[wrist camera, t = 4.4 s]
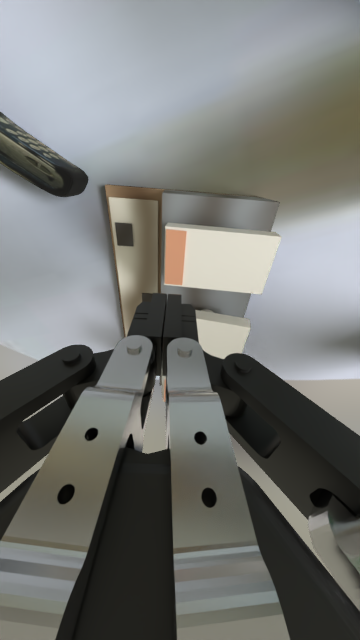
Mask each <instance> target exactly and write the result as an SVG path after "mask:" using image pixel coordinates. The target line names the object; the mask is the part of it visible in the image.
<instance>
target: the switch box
mask: <svg viewBox="0 0 360 640" xmlns="http://www.w3.org/2000/svg"><path fill="white" fill-rule="evenodd" d="M105 190H106V197H107V205H108V213H109V221H110V229H111V236H112V244H113V252H114V260H115V268H116V275H117V283H118V291H119V299H120V306H121V314H122V322H123V330H124V338H125V337H127V334H128V331H129V328H130V325H131V322H132V319H133V316H134V314H135V311H136V308H137V306H138V305H139V304H140V303H142V302H143V301H144V302H151V300H152V295H153V293H165V294H167V298H168V294H181V296H182V304H191V305H192V306H193V307H194V309H195V310H200V311H201V310H203V309H208V310H211V311H213V312H214V313H217V314H223V315H229V316H235V317H241V318H244V315H245V311H246V308H247V305H248V302H249V299H250V296H251V293H242V292H232V291H222V290H212V289H201V288H191V287H181V286H171V285H164V257H165V226H166V224H167V223H179V224H190V225H201V226H212V227H224V228H235V229H246V230H257V231H268V232H271V229H272V226H273V223H274V219H275V216H276V213H277V210H278V207H279V204H280V202H277V201H273V200H269V199H265V198H261V197H255V196H243V195H231V194H218V193H206V192H193V191H181V190H169V189H156V188H144V187H131V186H119V185H105ZM162 367H163V360H162ZM160 385H162V369H161V376H160Z"/></svg>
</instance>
